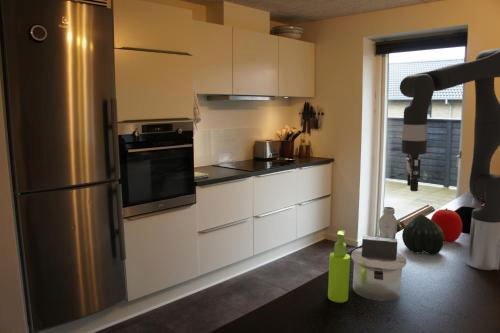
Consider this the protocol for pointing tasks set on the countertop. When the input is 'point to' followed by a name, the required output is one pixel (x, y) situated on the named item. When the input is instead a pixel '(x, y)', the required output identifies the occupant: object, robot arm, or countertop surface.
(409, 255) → the countertop surface
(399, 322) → the countertop surface
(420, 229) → the squash
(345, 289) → the soap dispenser
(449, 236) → the tomato
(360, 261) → the cooker lid
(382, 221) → the plastic bottle
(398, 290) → the cooker pot
